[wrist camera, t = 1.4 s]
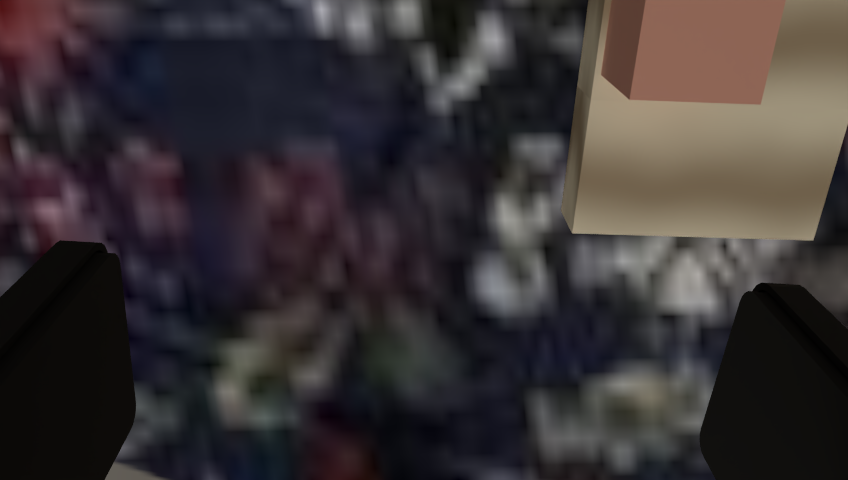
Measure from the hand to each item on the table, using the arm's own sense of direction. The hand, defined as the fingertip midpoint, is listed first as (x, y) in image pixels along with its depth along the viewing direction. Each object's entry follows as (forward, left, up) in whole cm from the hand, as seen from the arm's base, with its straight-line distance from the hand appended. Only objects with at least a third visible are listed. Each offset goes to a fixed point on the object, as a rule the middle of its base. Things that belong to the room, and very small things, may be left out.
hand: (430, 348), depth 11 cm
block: (-3, +9, -19) cm, 21 cm away
